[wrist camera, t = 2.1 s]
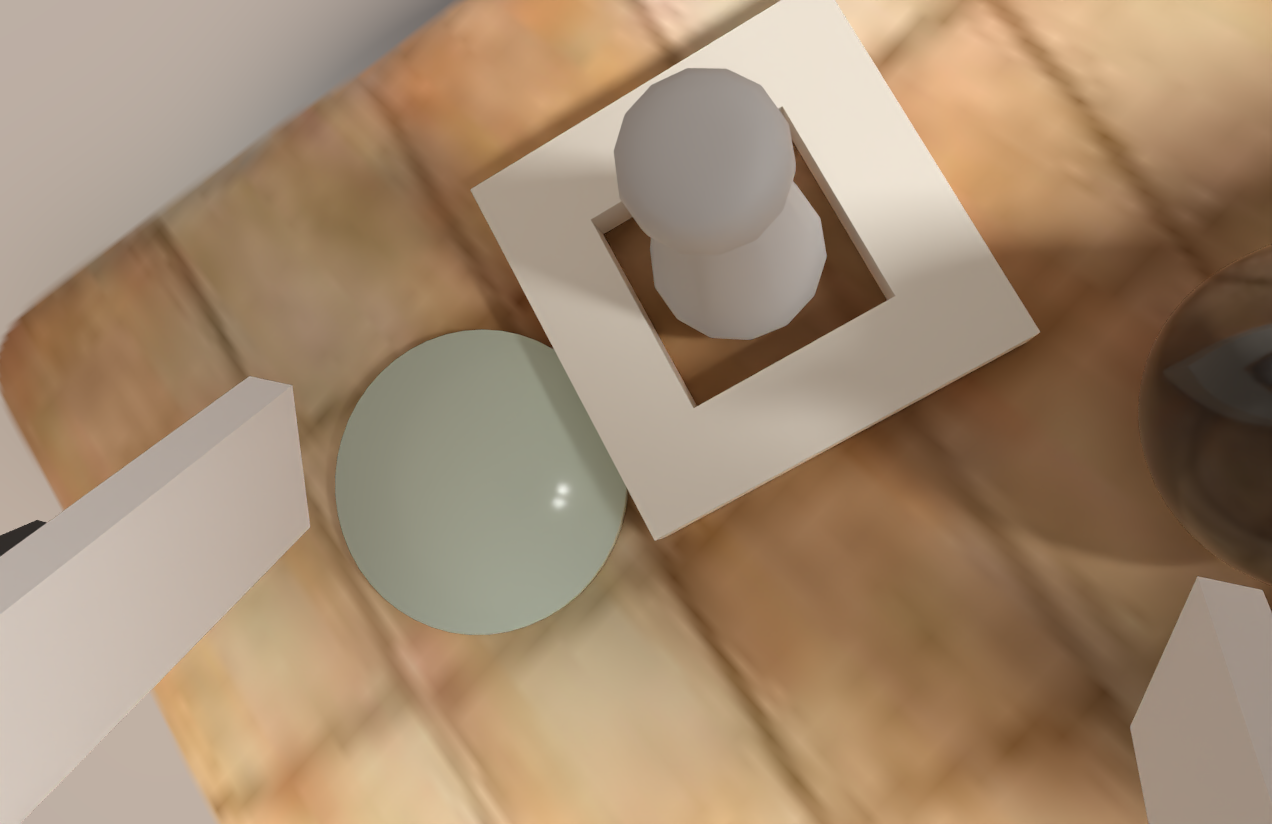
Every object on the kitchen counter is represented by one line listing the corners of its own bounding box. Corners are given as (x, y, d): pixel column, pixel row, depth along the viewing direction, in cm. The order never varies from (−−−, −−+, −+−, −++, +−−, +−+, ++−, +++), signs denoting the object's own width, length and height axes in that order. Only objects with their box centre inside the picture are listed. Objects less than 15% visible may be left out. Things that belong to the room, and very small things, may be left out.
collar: (820, 4, 35) (820, -24, 33) (1027, 341, 33) (1040, 331, 31) (488, 205, 37) (470, 189, 35) (664, 538, 35) (654, 540, 33)
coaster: (542, 278, 36) (537, 274, 36) (683, 543, 35) (680, 544, 34) (296, 422, 38) (288, 421, 37) (420, 685, 36) (413, 688, 36)
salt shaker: (632, 251, 36) (526, 119, 23) (763, 157, 35) (728, -32, 23) (722, 382, 35) (663, 319, 22) (858, 288, 34) (878, 168, 22)
